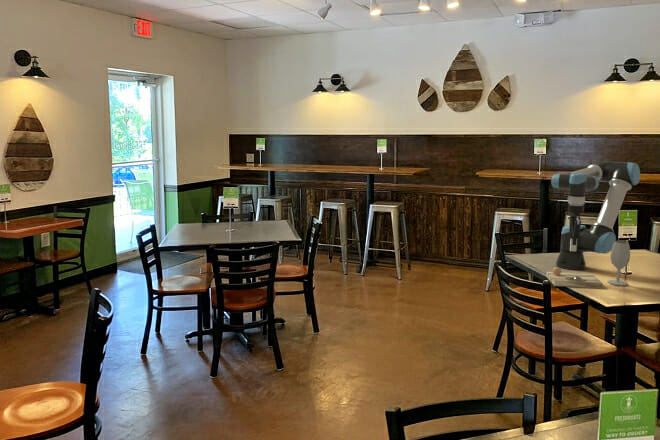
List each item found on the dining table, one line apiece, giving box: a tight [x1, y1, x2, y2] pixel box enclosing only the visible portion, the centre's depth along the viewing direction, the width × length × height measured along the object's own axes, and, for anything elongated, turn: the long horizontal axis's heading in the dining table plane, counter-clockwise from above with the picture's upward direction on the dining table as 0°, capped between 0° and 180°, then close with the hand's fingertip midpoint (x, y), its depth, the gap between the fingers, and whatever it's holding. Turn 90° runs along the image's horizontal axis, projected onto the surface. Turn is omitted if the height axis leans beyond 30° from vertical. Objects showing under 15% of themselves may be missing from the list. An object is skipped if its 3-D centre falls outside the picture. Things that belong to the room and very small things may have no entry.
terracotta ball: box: [552, 266, 562, 275], centre depth 290 cm, size 4×4×4 cm
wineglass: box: [607, 240, 631, 287], centre depth 283 cm, size 9×9×21 cm
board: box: [545, 271, 604, 289], centre depth 287 cm, size 18×22×2 cm
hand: (572, 250), depth 291 cm, fingers closed
